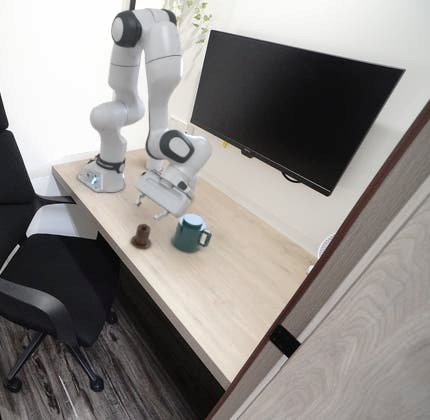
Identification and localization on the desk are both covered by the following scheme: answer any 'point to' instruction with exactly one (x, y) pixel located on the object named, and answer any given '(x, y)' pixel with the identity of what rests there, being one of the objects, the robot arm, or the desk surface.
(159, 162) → the cup
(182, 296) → the desk surface
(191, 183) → the milk bottle
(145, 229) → the lid
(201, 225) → the teal mug
